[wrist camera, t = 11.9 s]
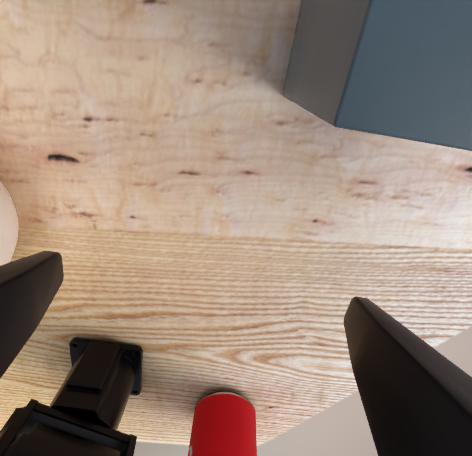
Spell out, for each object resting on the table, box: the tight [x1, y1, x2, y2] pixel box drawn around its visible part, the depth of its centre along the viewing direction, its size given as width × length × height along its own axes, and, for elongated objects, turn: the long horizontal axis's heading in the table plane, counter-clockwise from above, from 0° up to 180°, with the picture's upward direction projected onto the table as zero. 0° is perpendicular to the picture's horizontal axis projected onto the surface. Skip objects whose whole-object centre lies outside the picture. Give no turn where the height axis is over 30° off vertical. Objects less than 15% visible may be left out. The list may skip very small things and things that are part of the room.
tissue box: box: [282, 0, 472, 151], centre depth 12 cm, size 12×6×5 cm
